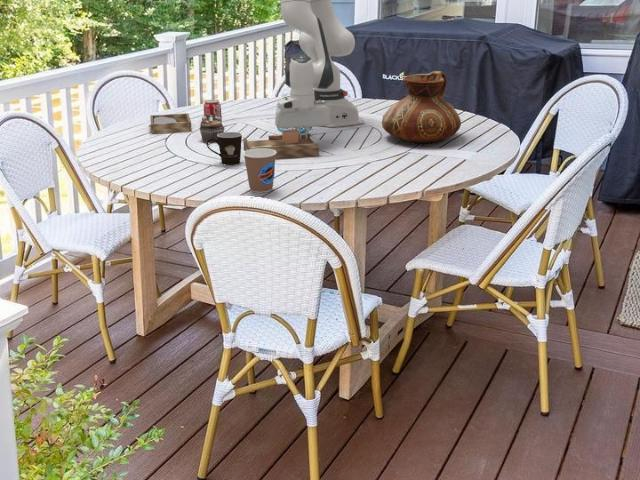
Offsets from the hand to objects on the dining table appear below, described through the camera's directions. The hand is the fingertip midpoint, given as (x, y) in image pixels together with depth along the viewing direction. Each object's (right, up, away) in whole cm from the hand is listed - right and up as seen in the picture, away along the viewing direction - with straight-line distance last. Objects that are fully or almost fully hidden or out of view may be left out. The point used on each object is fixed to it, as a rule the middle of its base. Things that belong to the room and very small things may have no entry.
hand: (303, 138), depth 295 cm
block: (-5, -1, -1) cm, 5 cm away
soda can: (-38, +8, +32) cm, 50 cm away
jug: (+45, +1, +12) cm, 47 cm away
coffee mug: (-26, -10, -15) cm, 32 cm away
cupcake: (-36, +1, +16) cm, 39 cm away
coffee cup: (-12, -22, -46) cm, 52 cm away
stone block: (-58, +9, +37) cm, 69 cm away
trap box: (-8, -5, -3) cm, 10 cm away
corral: (-56, +9, +36) cm, 67 cm away
